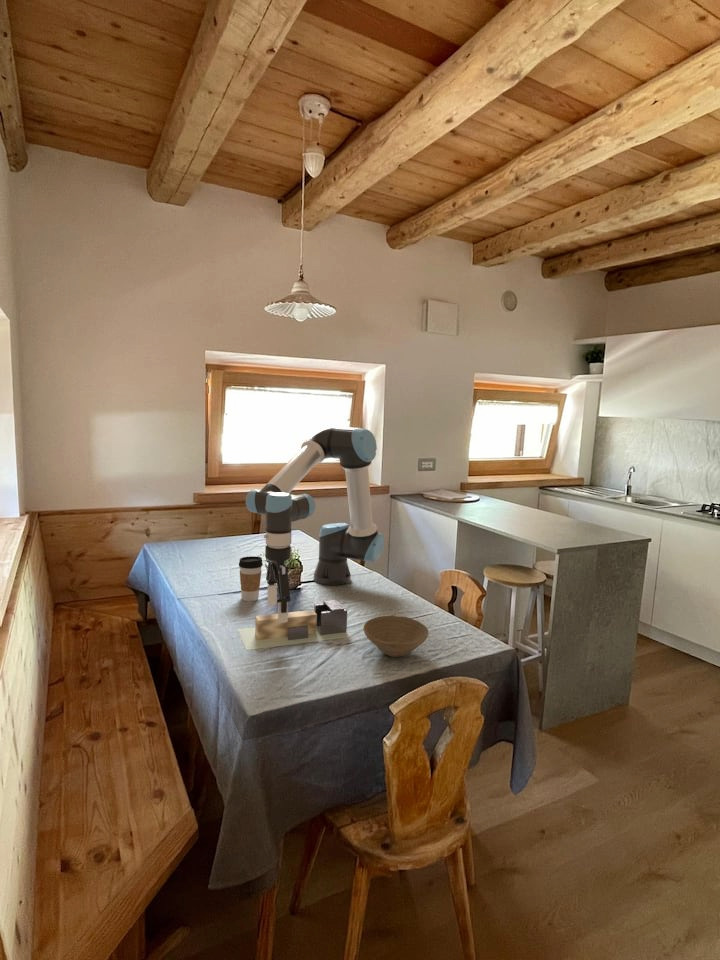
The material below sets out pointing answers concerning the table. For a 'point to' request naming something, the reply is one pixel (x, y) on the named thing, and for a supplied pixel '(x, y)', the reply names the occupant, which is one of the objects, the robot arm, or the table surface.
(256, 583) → the coffee cup
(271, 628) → the pine slat
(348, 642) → the table surface
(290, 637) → the open saddle
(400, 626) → the bowl
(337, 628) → the end cap
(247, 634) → the sage board
